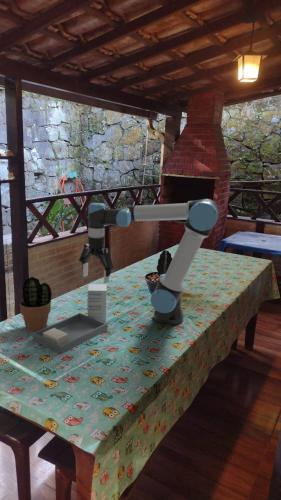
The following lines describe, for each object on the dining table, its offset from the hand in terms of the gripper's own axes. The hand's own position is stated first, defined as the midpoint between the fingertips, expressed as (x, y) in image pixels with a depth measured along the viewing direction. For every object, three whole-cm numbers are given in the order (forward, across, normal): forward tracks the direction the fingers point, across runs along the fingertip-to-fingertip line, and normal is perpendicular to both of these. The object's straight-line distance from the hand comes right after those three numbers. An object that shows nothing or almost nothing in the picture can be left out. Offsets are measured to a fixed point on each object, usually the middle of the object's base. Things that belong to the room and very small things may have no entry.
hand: (95, 279), depth 176 cm
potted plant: (+21, +14, +25) cm, 36 cm away
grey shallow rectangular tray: (+21, -4, +20) cm, 29 cm away
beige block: (+20, -4, +29) cm, 35 cm away
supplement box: (+21, 0, -1) cm, 21 cm away
